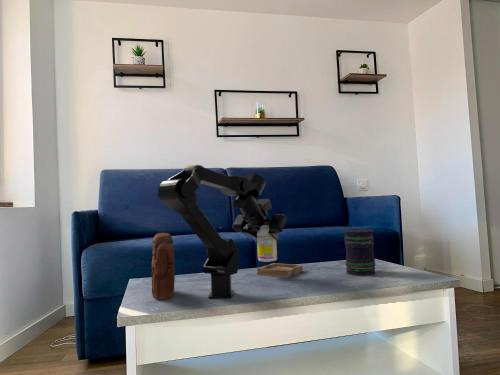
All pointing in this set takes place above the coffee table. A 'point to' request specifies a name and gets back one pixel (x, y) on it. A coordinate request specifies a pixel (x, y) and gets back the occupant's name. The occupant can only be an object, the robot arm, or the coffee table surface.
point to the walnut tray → (279, 270)
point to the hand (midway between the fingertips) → (268, 238)
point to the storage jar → (360, 252)
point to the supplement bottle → (266, 245)
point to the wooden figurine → (163, 266)
